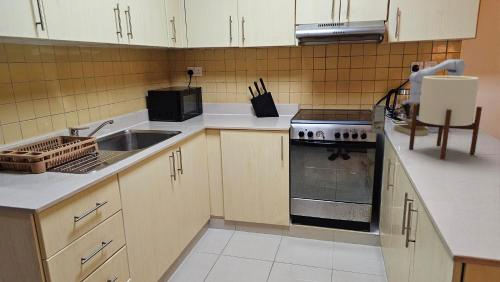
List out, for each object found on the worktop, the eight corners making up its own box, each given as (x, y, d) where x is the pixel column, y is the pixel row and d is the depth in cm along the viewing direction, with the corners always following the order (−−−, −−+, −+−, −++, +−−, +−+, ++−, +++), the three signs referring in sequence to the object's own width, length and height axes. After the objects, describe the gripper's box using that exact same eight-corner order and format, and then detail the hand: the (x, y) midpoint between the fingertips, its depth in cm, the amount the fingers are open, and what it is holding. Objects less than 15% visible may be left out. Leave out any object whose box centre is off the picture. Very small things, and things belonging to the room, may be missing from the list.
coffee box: (384, 133, 205) (386, 106, 201) (373, 133, 206) (375, 106, 202) (381, 130, 214) (384, 104, 210) (371, 130, 215) (373, 104, 211)
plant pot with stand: (438, 144, 180) (447, 75, 171) (479, 155, 160) (491, 77, 151) (404, 148, 173) (412, 76, 164) (442, 161, 152) (453, 79, 143)
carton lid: (408, 124, 216) (412, 117, 216) (428, 130, 199) (432, 123, 199) (397, 116, 213) (401, 110, 213) (416, 122, 196) (420, 115, 196)
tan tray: (408, 129, 217) (408, 124, 216) (427, 135, 200) (428, 130, 199) (393, 129, 215) (394, 125, 214) (412, 136, 198) (412, 131, 197)
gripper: (421, 92, 207) (419, 114, 210) (399, 92, 204) (397, 115, 208) (429, 93, 200) (426, 116, 204) (407, 94, 198) (405, 117, 201)
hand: (412, 115), depth 205 cm, fingers open, 7 cm apart
